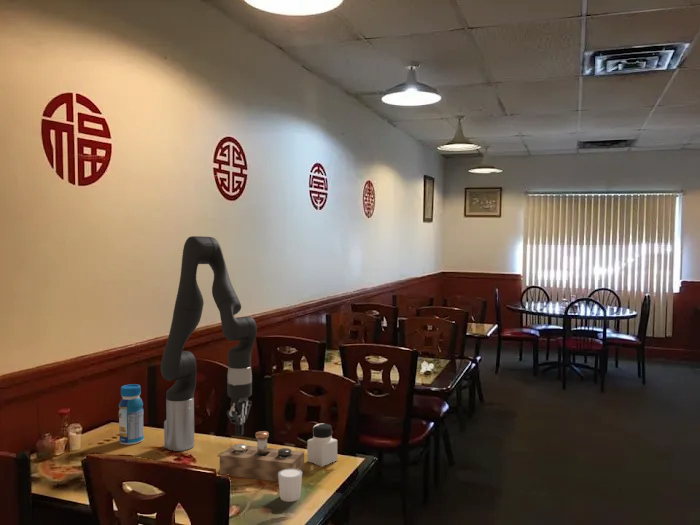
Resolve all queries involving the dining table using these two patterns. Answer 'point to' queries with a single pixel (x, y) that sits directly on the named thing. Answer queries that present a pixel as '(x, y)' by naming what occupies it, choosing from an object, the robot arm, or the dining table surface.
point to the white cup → (290, 484)
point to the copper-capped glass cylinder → (262, 443)
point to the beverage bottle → (131, 415)
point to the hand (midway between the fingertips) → (239, 435)
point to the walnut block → (259, 463)
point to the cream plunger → (240, 448)
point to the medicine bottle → (322, 446)
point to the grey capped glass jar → (284, 453)
